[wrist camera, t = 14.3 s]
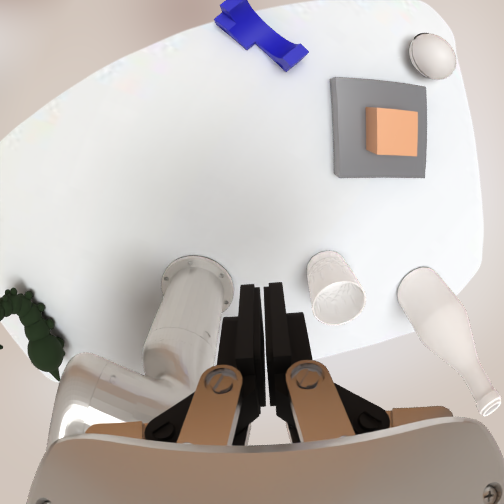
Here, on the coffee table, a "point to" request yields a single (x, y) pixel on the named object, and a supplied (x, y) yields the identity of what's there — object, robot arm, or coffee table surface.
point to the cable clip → (257, 33)
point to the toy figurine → (35, 331)
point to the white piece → (432, 56)
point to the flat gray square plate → (354, 127)
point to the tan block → (391, 131)
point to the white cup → (334, 289)
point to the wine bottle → (446, 331)
